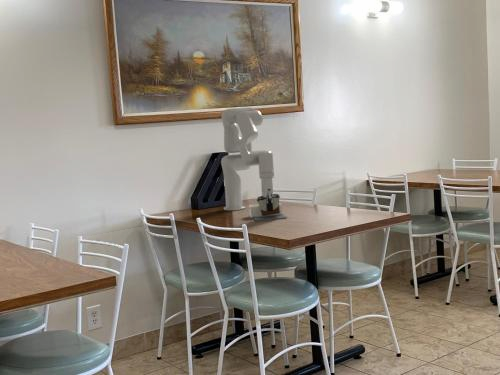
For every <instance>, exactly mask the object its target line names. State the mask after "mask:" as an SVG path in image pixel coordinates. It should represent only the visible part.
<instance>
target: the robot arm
mask: <svg viewBox="0 0 500 375" xmlns="http://www.w3.org/2000/svg"><path fill="white" fill-rule="evenodd" d="M221 122H222V126H223V146H224V148H223V149H224V151H225V153H228V154H227V155H225V156H223V157H222V158H221V162H220V163H221V168H222V172H223V181H224V182H223V183H224V194H225V195H224V196H225V206H224V207H223V210H224V211H240V210H244V208H245V209H246V205H243V197H242V195H243V194H242V182H241V176H240V175H239V173H238V171H246V170H249V169H250V168H251V167H253V166H258V175H259V179H260V182H261V184H260V185H261V186H260V188H261V196H263V197H264V198H265V197H266V200H267V203H266V206H267V211H273V203H272V197H273V194H274V186H273V185H274V184H273V179H274V178H275V170H274V168H275V167H274V156H273V152H272V151H270V150H255V151H254V150H253V151H252V142H254V141H255V140H256V139H257V138H258V136H259V132H258V129H257V126H258V127H259V126H261V125H262V124H263V115H262V113H261V112H260V111H259V110H258V109H256V108H253V107H238V108H237V107H235V108H227V109H224V110H223V112H222V114H221ZM240 134H241V135H240ZM235 153H238V154H235ZM268 196H269V197H268Z"/></svg>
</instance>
